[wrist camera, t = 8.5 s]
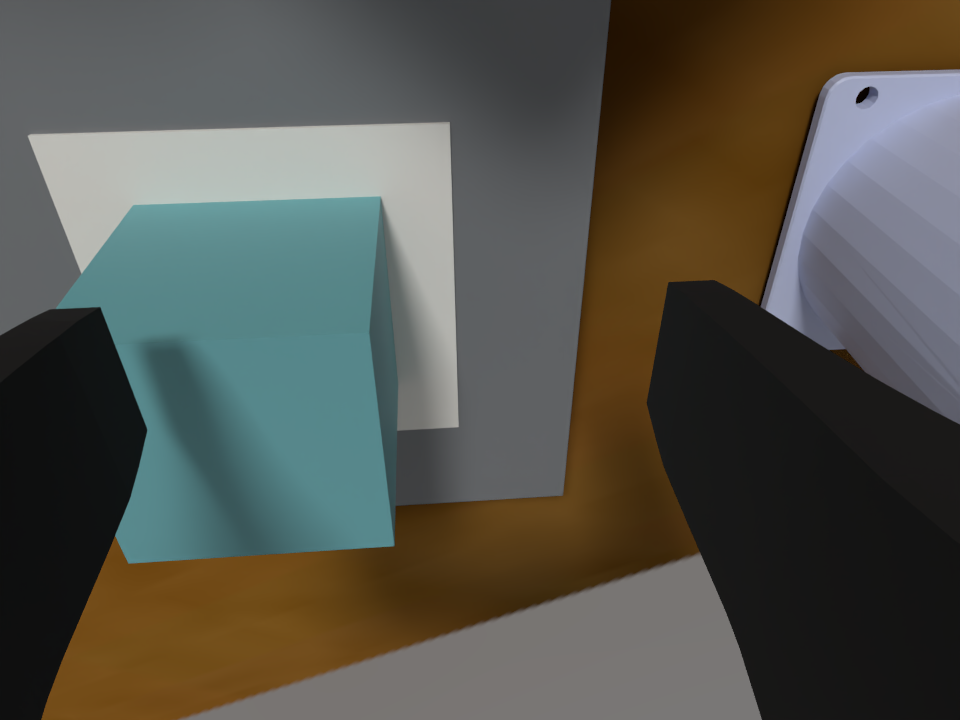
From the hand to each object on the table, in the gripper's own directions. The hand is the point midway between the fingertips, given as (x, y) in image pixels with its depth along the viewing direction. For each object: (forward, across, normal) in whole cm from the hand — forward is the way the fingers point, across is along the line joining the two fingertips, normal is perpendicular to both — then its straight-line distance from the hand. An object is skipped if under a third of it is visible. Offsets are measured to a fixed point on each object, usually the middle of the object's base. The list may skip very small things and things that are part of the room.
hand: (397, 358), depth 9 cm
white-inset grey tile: (+9, +3, +3) cm, 10 cm away
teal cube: (+6, +3, +3) cm, 8 cm away
